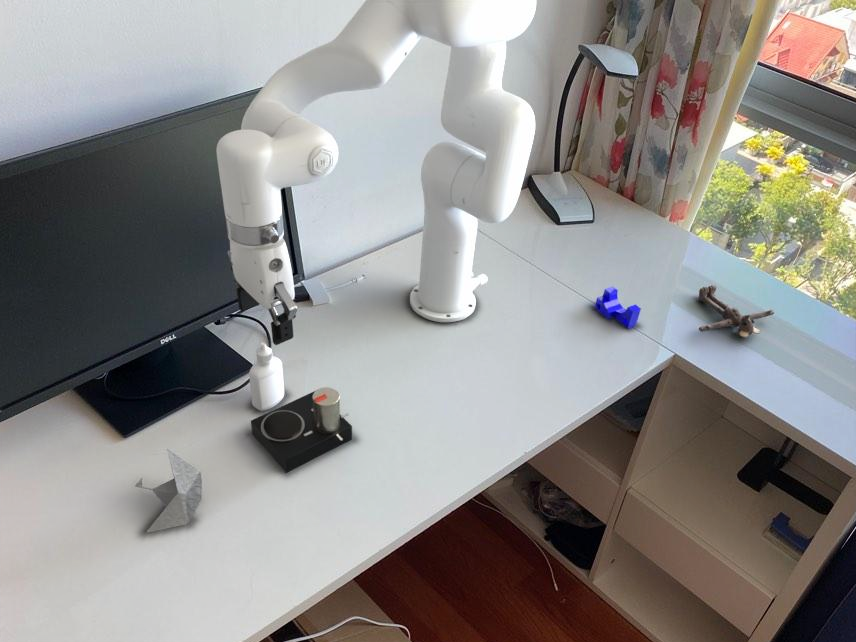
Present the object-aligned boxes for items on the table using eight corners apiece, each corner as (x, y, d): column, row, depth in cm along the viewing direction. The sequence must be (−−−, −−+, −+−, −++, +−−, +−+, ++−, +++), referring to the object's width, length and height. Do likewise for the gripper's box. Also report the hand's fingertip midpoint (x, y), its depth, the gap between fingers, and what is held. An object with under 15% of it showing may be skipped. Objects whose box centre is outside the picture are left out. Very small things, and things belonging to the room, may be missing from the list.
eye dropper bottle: (289, 405, 131) (285, 348, 123) (255, 413, 129) (248, 356, 121) (281, 388, 134) (277, 331, 126) (248, 396, 132) (241, 339, 124)
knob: (330, 412, 126) (329, 382, 122) (344, 426, 124) (344, 397, 120) (308, 422, 124) (307, 392, 120) (323, 437, 122) (322, 407, 118)
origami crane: (191, 540, 109) (121, 527, 107) (190, 542, 115) (124, 530, 113) (212, 454, 112) (144, 440, 110) (210, 460, 118) (146, 447, 116)
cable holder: (594, 307, 157) (598, 291, 154) (607, 303, 158) (612, 286, 155) (622, 330, 152) (627, 313, 149) (635, 325, 153) (640, 308, 151)
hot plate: (322, 401, 132) (321, 386, 130) (363, 442, 126) (363, 428, 124) (252, 434, 126) (250, 419, 124) (292, 479, 120) (291, 465, 118)
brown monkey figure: (742, 276, 163) (794, 312, 152) (737, 295, 165) (787, 331, 155) (670, 292, 157) (719, 331, 146) (665, 311, 159) (713, 350, 149)
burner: (289, 406, 127) (289, 403, 126) (313, 430, 123) (312, 427, 123) (252, 423, 123) (252, 420, 123) (275, 448, 120) (275, 445, 120)
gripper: (313, 245, 106) (319, 344, 118) (247, 189, 115) (258, 286, 127) (263, 264, 102) (274, 364, 114) (199, 204, 111) (215, 303, 123)
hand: (266, 323), depth 121 cm, fingers open, 9 cm apart
